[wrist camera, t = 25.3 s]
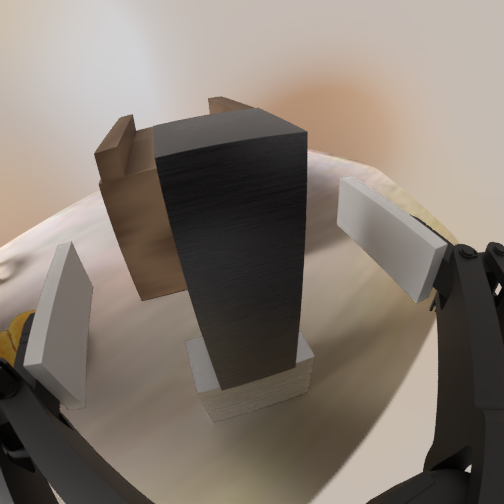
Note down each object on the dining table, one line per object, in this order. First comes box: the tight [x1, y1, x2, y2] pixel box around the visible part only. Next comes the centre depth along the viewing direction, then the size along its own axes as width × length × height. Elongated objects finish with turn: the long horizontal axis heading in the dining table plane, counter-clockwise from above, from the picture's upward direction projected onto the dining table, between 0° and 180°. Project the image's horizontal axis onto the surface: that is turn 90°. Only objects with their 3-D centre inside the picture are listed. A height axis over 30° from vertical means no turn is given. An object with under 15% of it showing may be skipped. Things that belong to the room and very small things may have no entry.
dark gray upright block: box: [153, 108, 315, 422], centre depth 12 cm, size 6×3×14 cm, turn 108°
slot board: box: [94, 97, 253, 301], centre depth 26 cm, size 12×16×12 cm
